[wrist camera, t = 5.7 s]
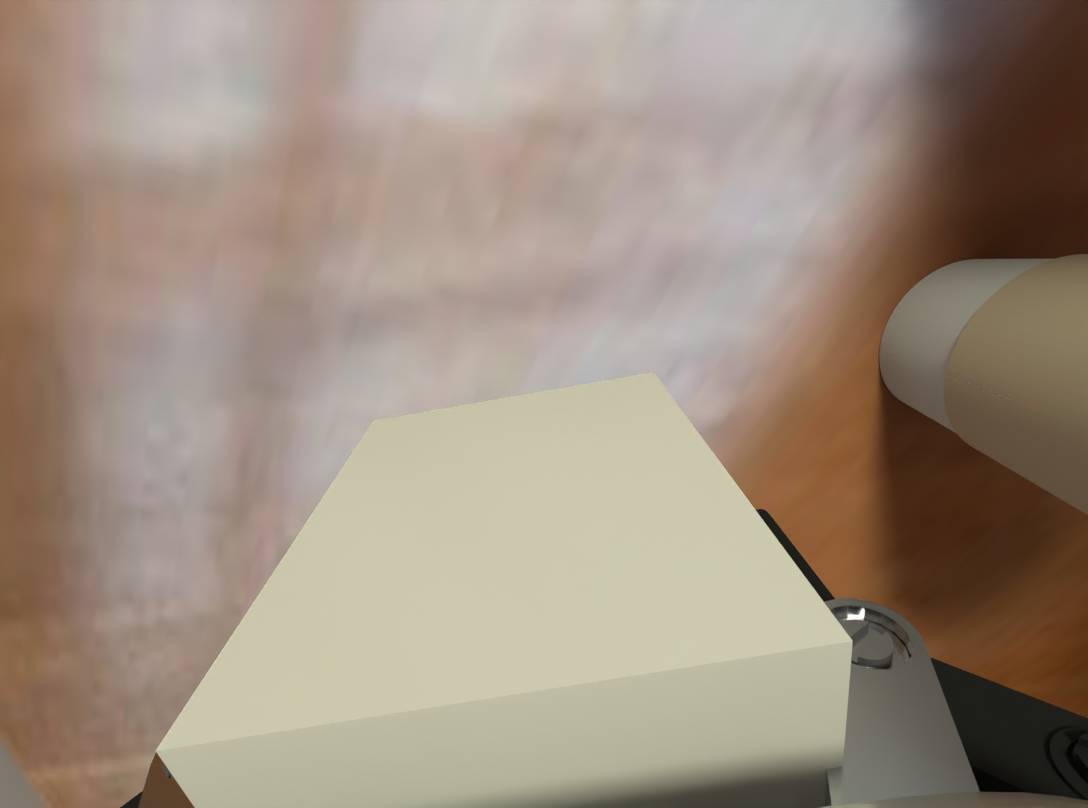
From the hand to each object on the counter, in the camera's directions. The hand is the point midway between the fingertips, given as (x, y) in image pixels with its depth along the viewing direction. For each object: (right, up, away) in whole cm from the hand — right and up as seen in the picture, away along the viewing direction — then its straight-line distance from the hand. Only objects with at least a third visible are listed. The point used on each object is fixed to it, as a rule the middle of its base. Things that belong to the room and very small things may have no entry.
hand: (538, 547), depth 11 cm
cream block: (0, 0, +1) cm, 1 cm away
